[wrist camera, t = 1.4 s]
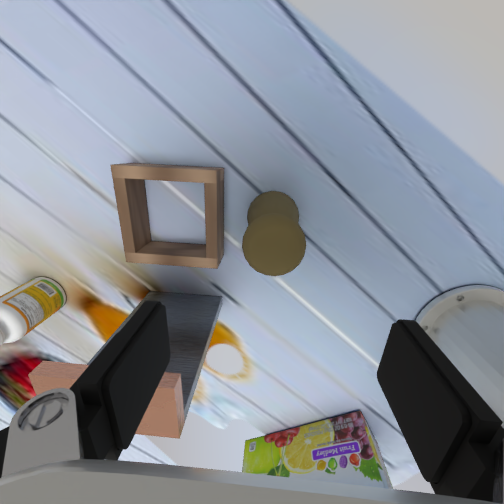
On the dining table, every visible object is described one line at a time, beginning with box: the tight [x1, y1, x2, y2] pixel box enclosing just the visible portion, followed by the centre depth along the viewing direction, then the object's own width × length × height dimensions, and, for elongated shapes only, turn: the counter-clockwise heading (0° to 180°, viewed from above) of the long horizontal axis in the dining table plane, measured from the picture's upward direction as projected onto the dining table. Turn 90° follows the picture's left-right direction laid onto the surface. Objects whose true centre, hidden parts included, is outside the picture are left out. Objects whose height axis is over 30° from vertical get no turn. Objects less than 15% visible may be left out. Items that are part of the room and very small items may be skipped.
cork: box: [242, 191, 306, 276], centre depth 24 cm, size 6×6×11 cm
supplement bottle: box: [0, 277, 66, 345], centre depth 31 cm, size 5×5×10 cm
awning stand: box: [29, 291, 222, 438], centre depth 25 cm, size 10×5×17 cm, turn 87°
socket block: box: [111, 163, 224, 269], centre depth 28 cm, size 10×10×4 cm
